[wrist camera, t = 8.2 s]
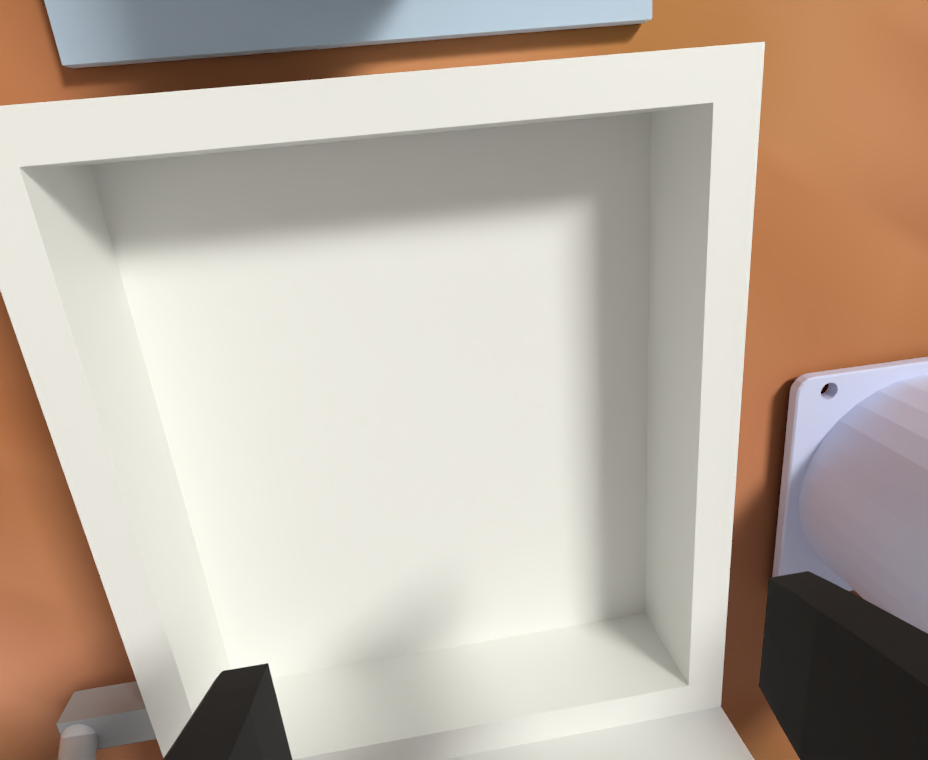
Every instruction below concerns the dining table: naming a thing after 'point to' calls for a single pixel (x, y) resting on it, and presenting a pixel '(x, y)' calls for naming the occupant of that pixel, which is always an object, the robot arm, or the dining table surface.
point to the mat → (301, 24)
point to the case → (402, 396)
